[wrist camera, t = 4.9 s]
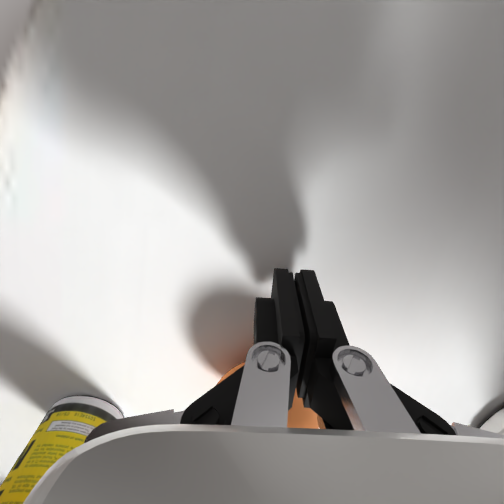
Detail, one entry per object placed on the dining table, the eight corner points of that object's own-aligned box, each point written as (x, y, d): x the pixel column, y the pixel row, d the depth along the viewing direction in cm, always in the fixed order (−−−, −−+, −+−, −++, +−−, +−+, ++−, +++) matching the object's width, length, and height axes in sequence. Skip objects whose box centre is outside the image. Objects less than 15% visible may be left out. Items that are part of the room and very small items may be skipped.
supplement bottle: (48, 387, 18) (-100, 600, 10) (128, 399, 18) (43, 610, 11) (54, 432, 20) (-64, 634, 12) (125, 442, 20) (53, 641, 13)
